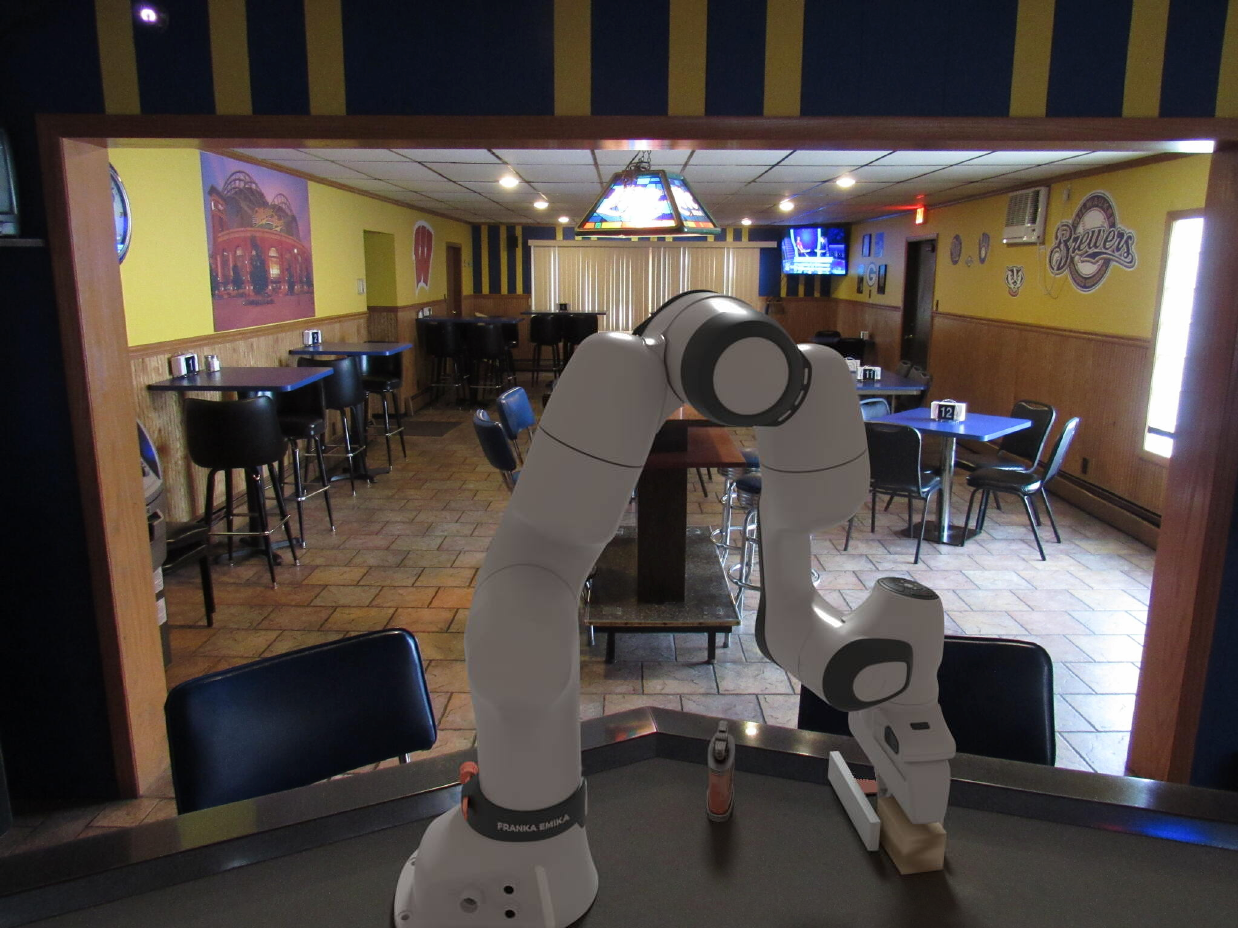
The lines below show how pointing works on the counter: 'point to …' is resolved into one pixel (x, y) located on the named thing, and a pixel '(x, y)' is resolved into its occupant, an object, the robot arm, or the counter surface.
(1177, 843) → the counter surface
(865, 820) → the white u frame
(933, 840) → the maple block
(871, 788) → the trap pad
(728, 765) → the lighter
